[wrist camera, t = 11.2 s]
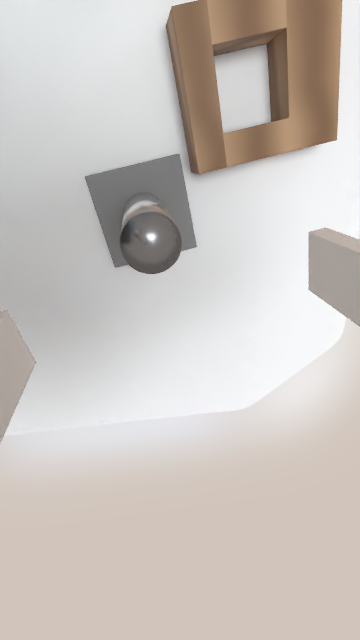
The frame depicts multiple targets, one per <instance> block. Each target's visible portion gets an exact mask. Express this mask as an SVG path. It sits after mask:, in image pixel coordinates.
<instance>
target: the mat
mask: <svg viewBox="0 0 360 640" xmlns="http://www.w3.org/2000/svg"><path fill="white" fill-rule="evenodd" d="M85 179H86V182H87V185H88V188H89V191H90V194H91V197H92V200H93V203H94V206H95V209H96V212H97V215H98V218H99V221H100V224H101V227H102V230H103V233H104V236H105V239H106V242H107V245H108V248H109V251H110V254H111V257H112V260H113V263H114V266H115V268H116V267H120V266H124V265H128V263H127V262H126V261H125V259H124V258H123V256H122V253H121V250H120V235H121V228H122V221H123V214H124V208H125V205H126V203H127V201H128V200H129V199H130V198H131V197H132V196H134V195H136V194H138V193H150V194H152V195H154V196H156V197H157V198H158V199H159V200H160V201H161V202H162V204H163V205H164V207H165V209H166V210H167V212H168V213H169V215H170V216H171V218H172V220H173V221H174V223H175V224H176V226H177V228H178V229H179V232H180V235H181V240H182V247H181V251H183V250H187V249H191V248H195V247H197V246H196V241H195V236H194V230H193V225H192V219H191V214H190V209H189V203H188V198H187V193H186V187H185V182H184V177H183V171H182V166H181V160H180V155H179V154H176V155H172V156H168V157H164V158H160V159H156V160H151V161H147V162H143V163H139V164H135V165H131V166H127V167H123V168H119V169H115V170H110V171H106V172H102V173H98V174H94V175H90V176H86V177H85Z"/></svg>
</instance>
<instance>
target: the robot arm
mask: <svg viewBox="0 0 360 640" xmlns="http://www.w3.org/2000/svg"><path fill="white" fill-rule="evenodd" d="M309 290H310V291H311V292H313V293H314V294H315V295H317V296H318V297H319V298H321V299H322V300H324V301H325V302H326V303H328V304H329V305H331V306H332V307H333V308H335V309H336V310H337V311H339V312H340V313H342V314H343V315H344V316H346V317H347V318H349V319H350V320H351V321H353V322H354V323H355V324H357V325H358V326H360V240H359V239H356V238H353V237H351V236H348V235H345V234H342V233H339V232H336V231H334V230H331V229H328V228H323V229H319V230H315V231H311V232H309ZM35 363H36V361H35V360H34V358H33V356H32V354H31V352H30V351H29V349H28V347H27V345H26V343H25V342H24V340H23V338H22V336H21V335H20V333H19V331H18V329H17V327H16V326H15V324H14V322H13V320H12V318H11V317H10V315H9V313H8V311H7V310H5V311H1V312H0V443H1V440H2V438H3V436H4V434H5V432H6V429H7V427H8V425H9V422H10V420H11V418H12V416H13V413H14V411H15V409H16V406H17V404H18V402H19V399H20V397H21V395H22V393H23V390H24V388H25V386H26V383H27V381H28V379H29V377H30V374H31V372H32V370H33V367H34V365H35Z"/></svg>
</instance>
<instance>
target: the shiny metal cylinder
mask: <svg viewBox="0 0 360 640" xmlns="http://www.w3.org/2000/svg"><path fill="white" fill-rule="evenodd" d="M181 247H182V240H181V235H180V232H179V229H178V228H177V226H176V224H175V223H174V221H173V220H172V218H171V216H170V215H169V213H168V212H167V210H166V209H165V207H164V205H163V204H162V202H161V201H160V200H159V199H158V198H157V197H156V196H154V195H152V194H150V193H138V194H136V195H134V196H132V197H131V198H130V199H129V200H128V201H127V203H126V205H125V208H124V214H123V221H122V228H121V235H120V250H121V253H122V256H123V258H124V259H125V261H126V262H127V263H128V264H129V265H130V266H131V267H132V268H133V269H135V270H137V271H139V272H142V273H146V274H156V273H160V272H163V271H165V270H167V269H169V268H170V267H171V266H172V265H173V264H174V263H175V262H176V260H177V259H178V257H179V255H180V252H181Z"/></svg>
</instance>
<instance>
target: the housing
mask: <svg viewBox="0 0 360 640" xmlns="http://www.w3.org/2000/svg"><path fill="white" fill-rule="evenodd" d="M341 18H342V0H198V1H193V2H189V3H184V4H180V5H176V6H172V8H171V11H170V14H169V18H168V21H167V25H166V28H167V34H168V40H169V45H170V51H171V57H172V63H173V69H174V74H175V80H176V86H177V92H178V97H179V103H180V109H181V115H182V120H183V126H184V132H185V138H186V143H187V149H188V155H189V161H190V166H191V172H192V173H197V174H201V173H205V172H209V171H213V170H217V169H221V168H225V167H229V166H233V165H237V164H241V163H246V162H250V161H254V160H258V159H262V158H266V157H270V156H274V155H278V154H282V153H286V152H290V151H294V150H298V149H302V148H306V147H310V146H314V145H318V144H323V143H327V142H331V141H335V140H337V124H338V98H339V71H340V45H341ZM263 44H267V47H268V66H269V85H270V104H271V122H270V123H266V124H262V125H258V126H254V127H250V128H245V129H241V130H237V131H233V132H229V133H225V134H223V130H222V121H221V113H220V105H219V96H218V88H217V80H216V72H215V63H214V56H215V55H220V54H224V53H228V52H233V51H237V50H241V49H245V48H250V47H254V46H258V45H263Z"/></svg>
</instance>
